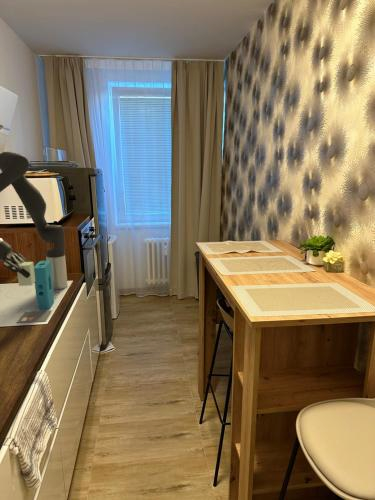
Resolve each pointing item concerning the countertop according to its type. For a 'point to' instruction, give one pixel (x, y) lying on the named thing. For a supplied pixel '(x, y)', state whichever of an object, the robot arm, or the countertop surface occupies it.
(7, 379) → the countertop surface
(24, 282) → the sage block
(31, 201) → the robot arm
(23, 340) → the countertop surface
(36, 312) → the marker mat
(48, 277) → the block
